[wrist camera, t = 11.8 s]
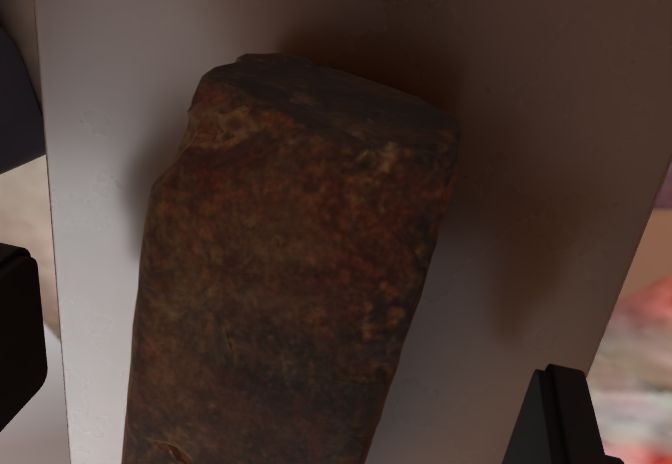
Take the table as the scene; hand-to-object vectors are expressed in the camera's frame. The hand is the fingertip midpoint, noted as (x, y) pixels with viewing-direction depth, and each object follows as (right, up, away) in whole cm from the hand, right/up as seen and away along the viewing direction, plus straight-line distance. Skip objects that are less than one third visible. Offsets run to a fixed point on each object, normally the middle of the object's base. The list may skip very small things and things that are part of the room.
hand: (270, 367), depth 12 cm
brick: (+1, +1, +2) cm, 3 cm away
